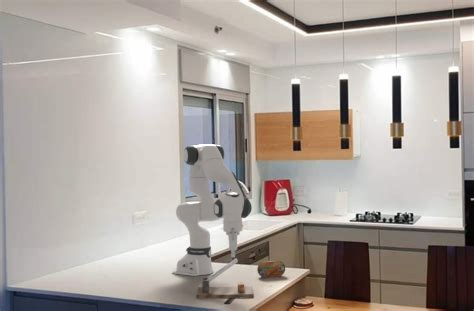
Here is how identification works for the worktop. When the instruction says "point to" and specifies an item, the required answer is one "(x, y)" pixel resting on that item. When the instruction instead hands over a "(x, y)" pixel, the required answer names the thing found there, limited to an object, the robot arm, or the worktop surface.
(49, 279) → the worktop surface
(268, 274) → the tin
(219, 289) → the latch base
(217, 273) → the latch lever
